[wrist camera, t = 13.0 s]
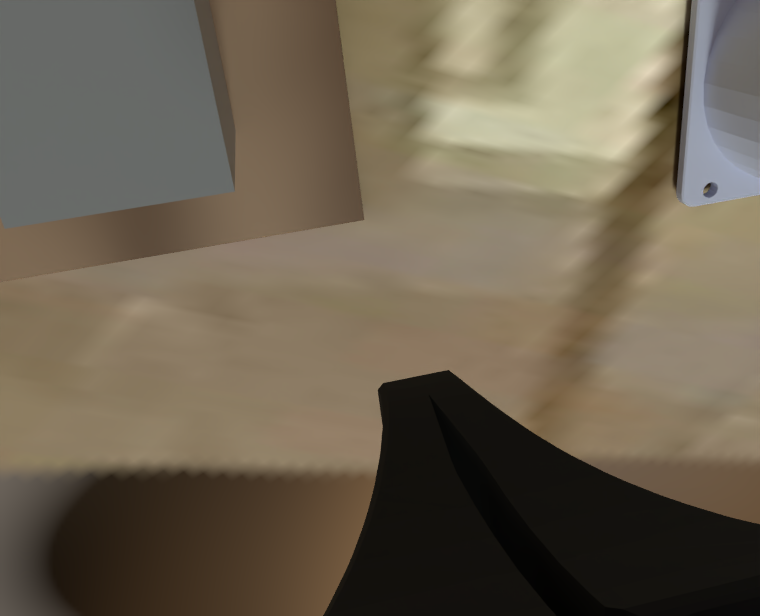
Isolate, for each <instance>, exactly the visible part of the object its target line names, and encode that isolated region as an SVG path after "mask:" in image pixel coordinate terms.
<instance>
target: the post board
mask: <svg viewBox="0 0 760 616" xmlns="http://www.w3.org/2000/svg"><path fill="white" fill-rule="evenodd" d="M209 4H210V8H211V13H212V18H213V23H214V28H215V33H216V38H217V43H218V47H219V52H220V57H221V62H222V67H223V72H224V77H225V82H226V86H227V91H228V96H229V101H230V106H231V111H232V116H233V120H234V125H235V130H236V142H235V192H230V193H223V194H217V195H211V196H205V197H199V198H193V199H186V200H180V201H174V202H168V203H162V204H155V205H149V206H143V207H137V208H131V209H125V210H118V211H112V212H106V213H100V214H94V215H88V216H81V217H75V218H69V219H63V220H57V221H51V222H44V223H38V224H32V225H26V226H20V227H13V228H7V229H5V228H4V226H3V223H2V220H1V218H0V282H4V281H10V280H16V279H22V278H27V277H33V276H39V275H45V274H51V273H57V272H62V271H68V270H74V269H80V268H86V267H92V266H98V265H103V264H109V263H115V262H121V261H127V260H133V259H138V258H144V257H150V256H156V255H162V254H168V253H174V252H179V251H185V250H191V249H197V248H203V247H209V246H215V245H220V244H226V243H232V242H238V241H244V240H250V239H255V238H261V237H267V236H273V235H279V234H285V233H291V232H296V231H302V230H308V229H314V228H320V227H326V226H331V225H337V224H343V223H349V222H355V221H361V220H364V215H363V207H362V200H361V192H360V184H359V177H358V169H357V161H356V154H355V146H354V139H353V131H352V123H351V116H350V108H349V100H348V93H347V85H346V78H345V70H344V62H343V55H342V47H341V39H340V32H339V24H338V16H337V9H336V1H335V0H209Z"/></svg>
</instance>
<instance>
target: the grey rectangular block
mask: <svg viewBox="0 0 760 616" xmlns="http://www.w3.org/2000/svg"><path fill="white" fill-rule="evenodd" d="M235 142H236V130H235V125H234V120H233V116H232V111H231V106H230V101H229V96H228V91H227V86H226V82H225V77H224V72H223V67H222V62H221V57H220V52H219V47H218V43H217V38H216V33H215V28H214V23H213V18H212V13H211V8H210V4H209V0H0V218H1V220H2V223H3V226H4V228H5V229H7V228H13V227H20V226H26V225H32V224H38V223H44V222H51V221H57V220H63V219H69V218H75V217H81V216H88V215H94V214H100V213H106V212H112V211H118V210H125V209H131V208H137V207H143V206H149V205H155V204H162V203H168V202H174V201H180V200H186V199H193V198H199V197H205V196H211V195H217V194H223V193H230V192H235Z"/></svg>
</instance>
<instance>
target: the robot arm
mask: <svg viewBox="0 0 760 616" xmlns="http://www.w3.org/2000/svg"><path fill="white" fill-rule="evenodd" d="M708 183H711V186H710V189H709V190H708V192H707V193H705V194H703V190H704V187H705V186H706V185H707V184H708ZM676 193H677V198H678V200H679V201H680V202H682V203H684V204H685V205H687V206H700V205H705V204H711V203H716V202H722V201H728V200H733V199H739V198H745V197H750V196H756V195H760V0H692V5H691V17H690V29H689V42H688V54H687V66H686V79H685V91H684V103H683V116H682V128H681V140H680V153H679V165H678V178H677V190H676ZM378 395H379V402H380V410H381V417H382V424H383V431H382V442H381V453H380V459H379V465H378V470H377V475H376V481H375V486H374V490H373V494H372V498H371V502H370V506H369V509H368V513H367V516H366V519H365V522H364V525H363V528H362V531H361V534H360V537H359V539H358V542H357V545H356V548H355V550H354V553H353V555H352V558H351V560H350V563H349V565H348V567H347V569H346V572H345V574H344V576H343V578H342V580H341V582H340V584H339V586H338V588H337V590H336V592H335V594H334V596H333V598H332V600H331V602H330V604H329V606H328V608H327V610H326V612H325V614H324V615H323V616H760V524H756V523H751V522H747V521H743V520H739V519H735V518H730V517H727V516H723V515H720V514H717V513H713V512H710V511H707V510H704V509H700V508H697V507H694V506H690V505H687V504H684V503H681V502H679V501H675V500H673V499H670V498H667V497H664V496H661V495H659V494H656V493H653V492H651V491H648V490H646V489H643V488H641V487H638V486H636V485H633V484H631V483H628V482H626V481H623V480H621V479H619V478H617V477H614V476H612V475H610V474H608V473H605V472H603V471H601V470H599V469H597V468H595V467H593V466H591V465H589V464H587V463H585V462H583V461H581V460H579V459H577V458H575V457H573V456H571V455H570V454H568V453H566V452H564V451H562V450H561V449H559V448H557V447H555V446H554V445H552V444H550V443H549V442H547V441H546V440H544V439H542V438H541V437H539V436H537V435H536V434H534V433H533V432H531V431H529V430H528V429H526V428H525V427H524V426H522V425H521V424H519V423H518V422H516V421H515V420H514V419H512V418H511V417H509V416H508V415H506V414H505V413H504V412H502V411H501V410H499V409H498V408H497V407H495V406H494V405H493V404H491V403H490V402H489V401H488V400H486V399H485V398H484V397H482V396H481V395H480V394H478V393H477V392H476V391H475V390H473V389H472V388H471V387H470V386H468V385H467V384H466V383H465V382H463V381H462V380H461V379H460V378H458V377H457V376H456V375H454V374H453V373H452V372H450V371H449V370H447V371H442V372H437V373H432V374H427V375H422V376H417V377H412V378H407V379H402V380H397V381H392V382H387V383H383V384H382V385H381V387H380V388H379V389H378Z"/></svg>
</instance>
